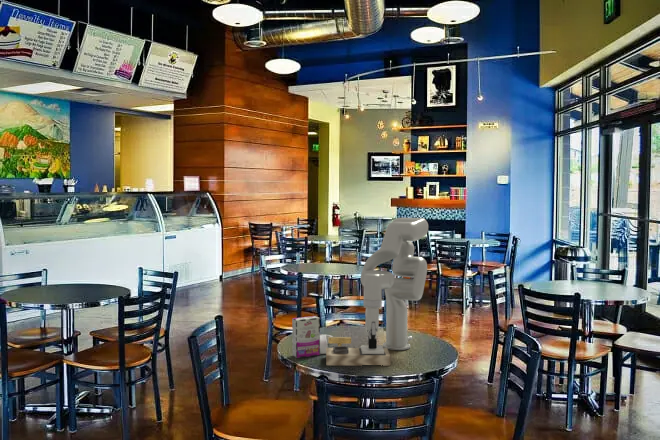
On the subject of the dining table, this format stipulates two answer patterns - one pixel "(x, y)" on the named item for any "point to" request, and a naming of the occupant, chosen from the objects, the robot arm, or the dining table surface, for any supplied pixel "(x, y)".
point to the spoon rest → (324, 343)
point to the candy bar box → (306, 336)
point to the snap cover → (372, 349)
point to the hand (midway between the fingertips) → (372, 346)
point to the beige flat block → (355, 357)
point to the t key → (339, 340)
